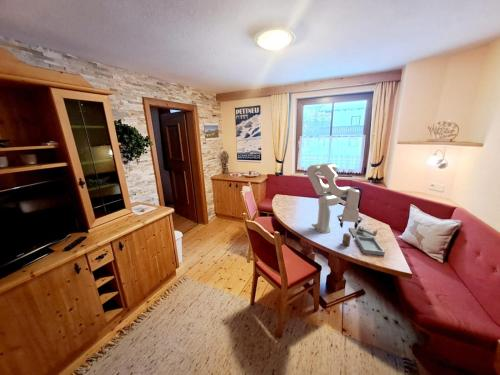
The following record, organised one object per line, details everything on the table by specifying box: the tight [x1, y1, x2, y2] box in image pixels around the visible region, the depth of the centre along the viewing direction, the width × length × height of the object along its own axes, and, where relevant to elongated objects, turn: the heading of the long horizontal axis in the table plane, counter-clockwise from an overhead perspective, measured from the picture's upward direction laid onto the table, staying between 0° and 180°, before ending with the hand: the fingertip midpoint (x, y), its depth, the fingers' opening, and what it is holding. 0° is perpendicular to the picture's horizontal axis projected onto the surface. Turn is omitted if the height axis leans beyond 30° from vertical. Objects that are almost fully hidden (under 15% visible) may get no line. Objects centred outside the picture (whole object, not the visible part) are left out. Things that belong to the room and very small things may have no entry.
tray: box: [355, 236, 386, 256], centre depth 142 cm, size 13×19×3 cm
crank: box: [357, 225, 378, 238], centre depth 155 cm, size 14×5×5 cm, turn 28°
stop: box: [341, 233, 352, 247], centre depth 145 cm, size 5×5×8 cm
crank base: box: [348, 227, 373, 238], centre depth 161 cm, size 14×14×3 cm
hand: (348, 227), depth 142 cm, fingers open, 9 cm apart
